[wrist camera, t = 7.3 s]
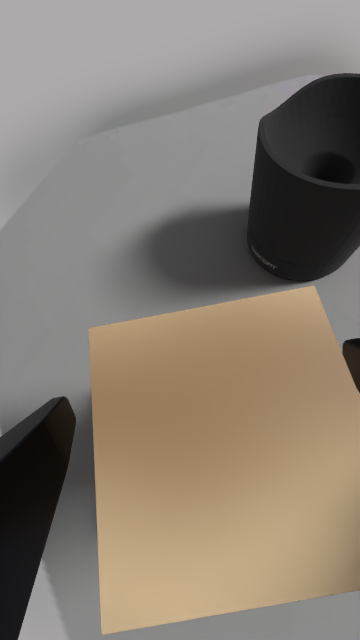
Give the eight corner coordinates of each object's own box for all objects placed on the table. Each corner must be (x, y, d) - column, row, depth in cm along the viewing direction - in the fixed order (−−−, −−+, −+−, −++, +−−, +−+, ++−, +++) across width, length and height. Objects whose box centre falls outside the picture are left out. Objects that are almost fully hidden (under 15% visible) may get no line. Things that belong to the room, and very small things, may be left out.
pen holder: (238, 203, 27) (251, 84, 18) (340, 195, 26) (411, 63, 17) (247, 290, 23) (269, 197, 14) (366, 283, 22) (473, 179, 13)
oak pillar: (261, 469, 15) (434, 577, 4) (180, 483, 15) (101, 635, 4) (240, 386, 17) (314, 285, 5) (168, 400, 17) (88, 328, 6)
